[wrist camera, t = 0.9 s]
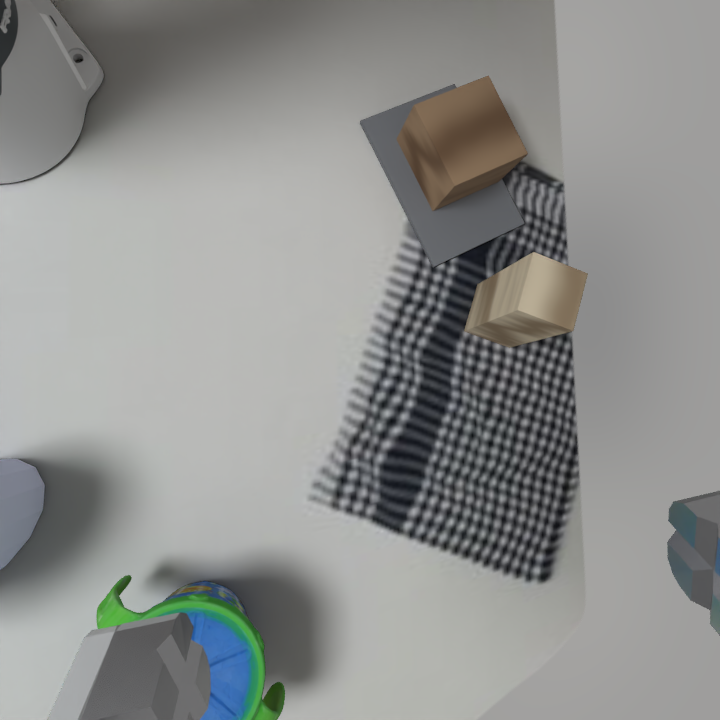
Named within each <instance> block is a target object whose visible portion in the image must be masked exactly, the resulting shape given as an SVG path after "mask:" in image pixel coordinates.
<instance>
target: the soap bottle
mask: <svg viewBox="0 0 720 720" xmlns="http://www.w3.org/2000/svg"><path fill="white" fill-rule="evenodd" d="M44 490H45V484H44V482H43V481H42V479H41V477H40V475H39V473H38V471H37V469H36V467H34V466H32V465H29V464H27V463H25V462H23V461H20V460H18V459H1V460H0V570H1V569H2V568H3V567H5V566H6V565H7V564H8V563H9V562H10V561H11V560H12V558H13V557H14V556H15V555H16V554H17V552H18V551H19V550H20V549H21V548H22V546H23V545H24V544H25V543H26V542H27V540H28V539H29V538H30V536H31V534H32V532H33V530H34V528H35V526H36V523H37V521H38V519H39V517H40V515H41V513H42V511H43V504H44Z"/></svg>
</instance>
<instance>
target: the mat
mask: <svg viewBox="0 0 720 720" xmlns="http://www.w3.org/2000/svg"><path fill="white" fill-rule="evenodd" d="M453 89H456V86H455V84H453V85H451V86H448V87H446V88H443V89H440V90H438V91H435V92H433V93H430V94H428V95H425V96H423V97H420V98H417V99H415V100H412V101H410V102H407V103H405V104H402V105H400V106H397V107H394V108H392V109H389V110H387V111H384V112H382V113H379V114H377V115H374V116H371V117H369V118H366V119H364V120H361V121H360V124H361V126H362V128H363V130H364V132H365V134H366V136H367V138H368V140H369V142H370V144H371V146H372V148H373V150H374V152H375V154H376V156H377V158H378V160H379V162H380V164H381V166H382V168H383V170H384V172H385V174H386V176H387V178H388V180H389V182H390V184H391V186H392V188H393V190H394V192H395V194H396V196H397V198H398V200H399V202H400V204H401V206H402V207H403V209H404V211H405V213H406V215H407V217H408V219H409V221H410V223H411V225H412V227H413V229H414V231H415V233H416V235H417V237H418V239H419V241H420V243H421V245H422V247H423V249H424V251H425V253H426V255H427V257H428V259H429V261H430V263H431V265H432V267H435V266H437V265H439V264H441V263H443V262H446V261H448V260H450V259H452V258H454V257H456V256H458V255H460V254H462V253H464V252H467V251H469V250H471V249H473V248H475V247H477V246H479V245H481V244H483V243H486V242H488V241H490V240H492V239H494V238H496V237H498V236H500V235H502V234H504V233H507V232H509V231H511V230H513V229H515V228H517V227H519V226H521V225H523V224H525V223H524V221H523V219H522V217H521V215H520V213H519V211H518V209H517V207H516V205H515V203H514V201H513V199H512V197H511V195H510V193H509V191H508V189H507V187H506V185H505V183H504V182H503V180H502V179H501V180H500V181H499V182H497V183H495V184H492V185H490V186H488V187H486V188H483V189H481V190H479V191H477V192H475V193H472V194H470V195H468V196H466V197H463V198H461V199H459V200H457V201H454V202H452V203H450V204H448V205H446V206H443V207H441V208H439V209H437V210H434V211H432V209H431V207H430V205H429V203H428V201H427V199H426V197H425V195H424V193H423V191H422V189H421V187H420V185H419V183H418V181H417V179H416V177H415V175H414V173H413V171H412V169H411V167H410V165H409V163H408V161H407V159H406V157H405V155H404V153H403V151H402V149H401V147H400V145H399V143H398V141H397V137H398V135H399V133H400V131H401V129H402V127H403V125H404V123H405V121H406V119H407V117H408V115H409V113H410V112H411V110H412V108H413V106H414V105H415V104H417V103H420V102H423V101H425V100H428V99H430V98H433V97H435V96H438V95H440V94H443V93H445V92H448V91H450V90H453Z"/></svg>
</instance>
